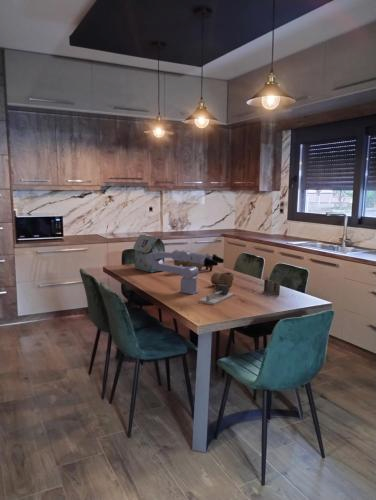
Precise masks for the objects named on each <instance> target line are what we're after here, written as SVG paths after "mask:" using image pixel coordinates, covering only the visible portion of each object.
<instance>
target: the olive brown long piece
mask: <svg viewBox="0 0 376 500" xmlns="http://www.w3.org/2000/svg"><path fill="white" fill-rule="evenodd" d="M173 265H176V266H181V265H182V267H192V266H196V267H197V268H198V270H199V271H201V270H202V269H203V268H204V267H205V266H204V264H200V263H195V262H191V261H187V262H184V261H181V260H173ZM213 268H214V266H207V267H205V270H206V271H209V272H212V271H213Z"/></svg>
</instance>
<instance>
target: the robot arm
mask: <svg viewBox="0 0 376 500" xmlns="http://www.w3.org/2000/svg"><path fill="white" fill-rule="evenodd" d="M162 258H164V259H166V258H167V259H172V260H173V261H174V260H181V261H184V262H187V261H191V262H195V263H200V264H204V266H205V268H206V267H207V266H213V267H214V266H216V267H217V266H218V264H224V263H225V262H224V261H225V260H224V258H222V257H220V256H217V254H216V253H213V254H212V255H210V253H208V252H206V253H205V254H204V253H203V254H202V253H197V252H192V251H190V250H187V251H185V250H182V251H181V250H178V249H175V250H173V251H172V252H170V251H169V252H168V251H165V252H155V253H150V254H147V255H146V261H147V263H148V264H149V265H151V266H153V267H154V268H155V269H156V270H159V271H158V272H166V273H171V274H176V275H180V277H182V278H181V279H180V288H179V289H180V290H179V293H183V294H189V295H195V294H198V293H199V292H200V290H197V285H198V284H197V277H198V275H199V273H200V270H198V268H197V267H196V266H192V267H183V266H181V265H180V266H176V265H174V264H169V263H165V262H164V263H163V259H162Z"/></svg>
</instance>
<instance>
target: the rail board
mask: <svg viewBox="0 0 376 500" xmlns="http://www.w3.org/2000/svg"><path fill="white" fill-rule="evenodd" d="M222 292H223V290H220V291H218V292H217V291H216V292H213V293H211V294H209V295H208V294H207V295H206V296H205V297H202V298H200V299H198V300H199V301H198V302H199V303H202V304H208V305H212V306H215V305H217V304H220V303H222V302H224V301H226V300H228V299H231V298H232V297H234V296H235V293H234V292H229V291H228V294H227V295H224V294H220V293H222Z"/></svg>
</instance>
